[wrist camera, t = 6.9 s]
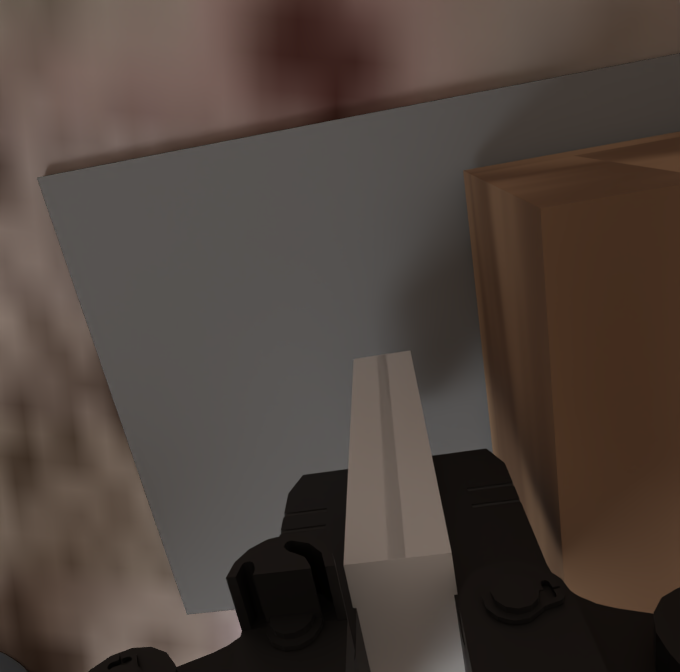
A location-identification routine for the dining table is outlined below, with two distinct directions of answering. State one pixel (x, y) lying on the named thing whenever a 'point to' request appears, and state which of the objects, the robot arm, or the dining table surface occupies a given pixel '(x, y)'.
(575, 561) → the socket block
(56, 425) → the dining table surface
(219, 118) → the dining table surface
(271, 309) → the runner mat
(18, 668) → the dowel
